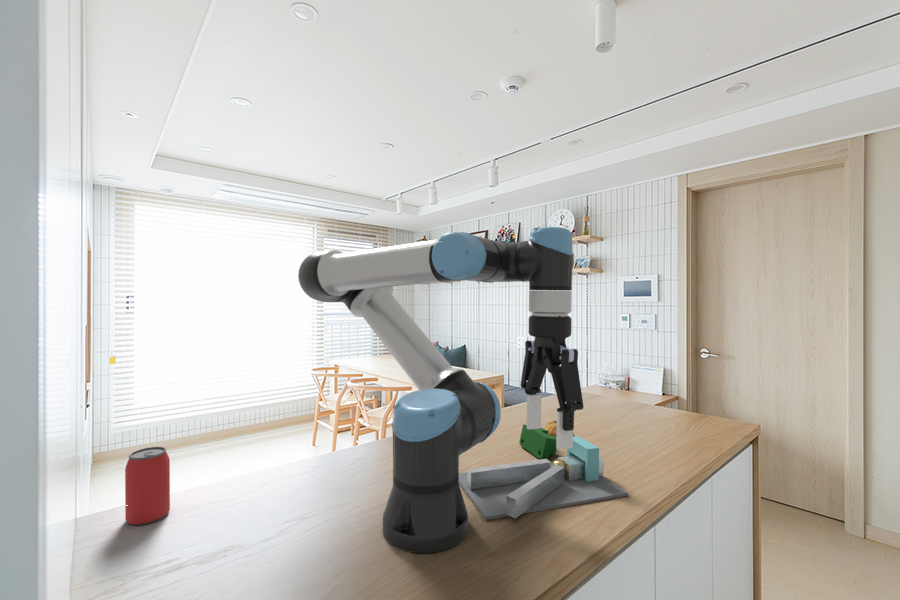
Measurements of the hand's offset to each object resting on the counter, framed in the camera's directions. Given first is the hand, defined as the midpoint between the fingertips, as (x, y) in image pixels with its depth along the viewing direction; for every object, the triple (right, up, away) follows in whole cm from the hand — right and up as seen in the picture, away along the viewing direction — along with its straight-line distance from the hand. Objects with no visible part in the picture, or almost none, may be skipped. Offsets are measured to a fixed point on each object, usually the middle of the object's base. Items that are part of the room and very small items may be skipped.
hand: (548, 437), depth 75 cm
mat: (+1, -15, +15) cm, 21 cm away
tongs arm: (0, -15, +8) cm, 17 cm away
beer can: (-73, -15, +1) cm, 75 cm away
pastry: (+15, -15, +46) cm, 51 cm away
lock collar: (+12, -15, +19) cm, 27 cm away
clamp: (+6, -15, +34) cm, 38 cm away
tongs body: (+1, -15, +15) cm, 21 cm away
